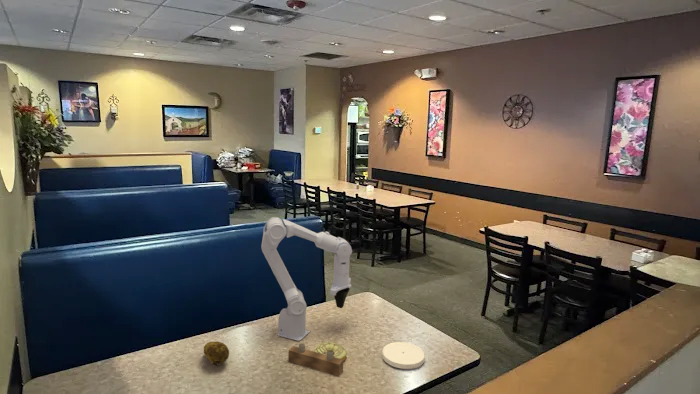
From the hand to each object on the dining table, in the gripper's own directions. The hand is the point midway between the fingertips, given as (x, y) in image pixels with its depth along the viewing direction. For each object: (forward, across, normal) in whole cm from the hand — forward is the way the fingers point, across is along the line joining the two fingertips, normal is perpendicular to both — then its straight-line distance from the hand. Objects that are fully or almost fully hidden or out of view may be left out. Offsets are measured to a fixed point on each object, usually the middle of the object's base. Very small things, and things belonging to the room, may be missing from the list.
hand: (340, 307), depth 155 cm
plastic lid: (+10, -8, -27) cm, 30 cm away
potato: (+10, -37, +26) cm, 46 cm away
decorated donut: (+10, -18, -5) cm, 21 cm away
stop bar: (+9, -25, -3) cm, 27 cm away
